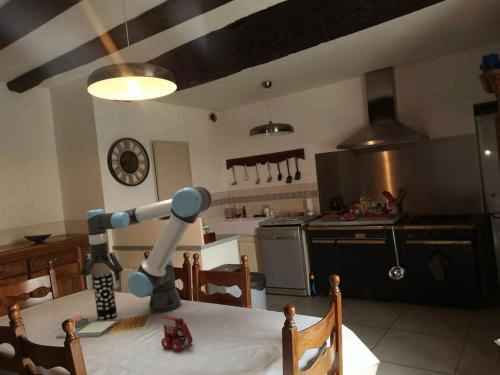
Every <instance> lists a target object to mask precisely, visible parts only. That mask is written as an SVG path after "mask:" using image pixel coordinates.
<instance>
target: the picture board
mask: <svg viewBox="0 0 500 375" xmlns="http://www.w3.org/2000/svg"><path fill="white" fill-rule="evenodd" d="M117 321H119V322H120V319H112V320H101V321H98V320H89V317H83V321H81V322H80V323H75V333H76V334H77V336H78V337H77V338H93V337H94V338H95V337H97V338H98V337H101V336H103V335H104V334H105V333H107V332H108V331H109V330H110V329H111V328H110V327H111V326H112V325H114V324H115V323H116V322H117ZM114 326H115V325H114ZM109 328H110V329H109ZM55 339H66V338H65V332H64V330H63V331H62V332H60V333H58V334H57V335H55Z"/></svg>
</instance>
